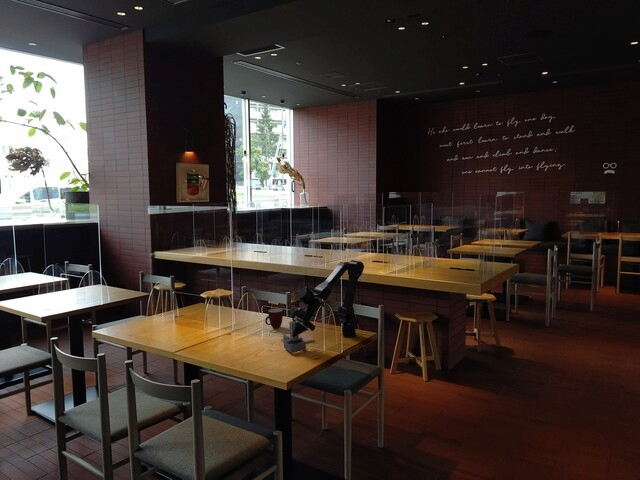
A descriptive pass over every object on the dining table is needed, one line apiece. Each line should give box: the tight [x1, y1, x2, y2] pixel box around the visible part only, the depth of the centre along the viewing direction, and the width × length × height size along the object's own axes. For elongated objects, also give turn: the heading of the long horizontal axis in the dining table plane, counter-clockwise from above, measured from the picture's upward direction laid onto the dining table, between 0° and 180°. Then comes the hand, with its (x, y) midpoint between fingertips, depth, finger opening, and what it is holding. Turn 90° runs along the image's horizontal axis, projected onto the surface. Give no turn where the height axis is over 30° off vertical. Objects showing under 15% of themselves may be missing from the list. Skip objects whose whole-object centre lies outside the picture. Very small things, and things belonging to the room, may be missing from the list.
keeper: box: [280, 333, 315, 344], centre depth 245 cm, size 14×10×4 cm
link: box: [283, 320, 307, 353], centre depth 232 cm, size 8×8×13 cm
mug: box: [264, 307, 284, 330], centre depth 267 cm, size 10×8×10 cm
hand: (291, 335), depth 231 cm, fingers closed on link, 3 cm apart
